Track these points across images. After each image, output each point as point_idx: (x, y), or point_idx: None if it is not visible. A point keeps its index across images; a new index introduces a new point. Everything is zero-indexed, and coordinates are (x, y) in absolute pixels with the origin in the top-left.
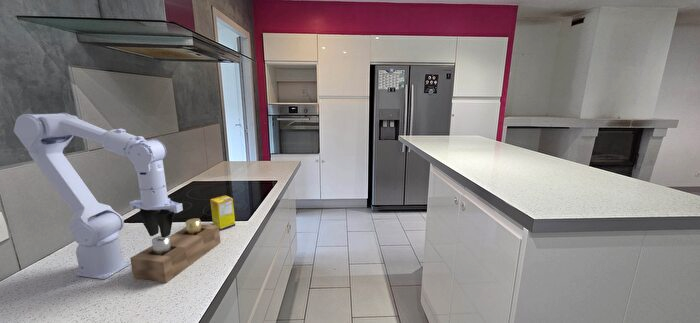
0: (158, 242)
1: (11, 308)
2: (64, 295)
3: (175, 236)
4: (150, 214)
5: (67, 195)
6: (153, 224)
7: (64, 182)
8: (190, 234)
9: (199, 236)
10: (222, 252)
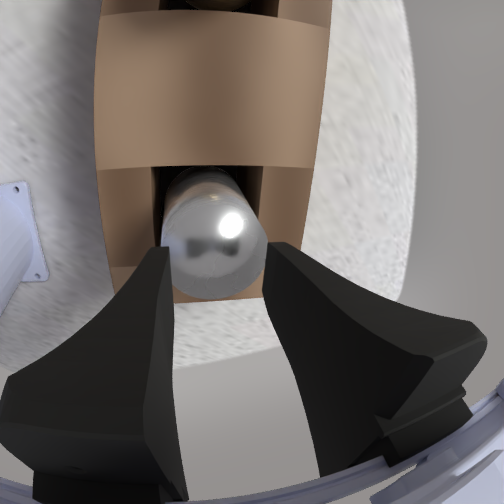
0: (237, 289)
1: (17, 369)
2: (44, 336)
3: (141, 46)
4: (173, 448)
5: None
6: (165, 333)
7: None
8: (226, 2)
9: (312, 31)
10: (350, 31)
